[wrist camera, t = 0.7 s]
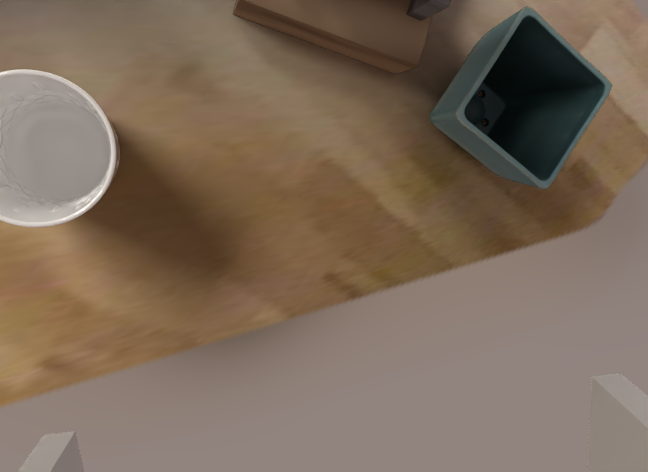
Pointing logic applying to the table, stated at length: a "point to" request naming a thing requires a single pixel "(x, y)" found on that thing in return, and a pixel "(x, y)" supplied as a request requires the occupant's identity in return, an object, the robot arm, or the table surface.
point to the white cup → (51, 149)
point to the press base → (353, 26)
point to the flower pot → (521, 100)
